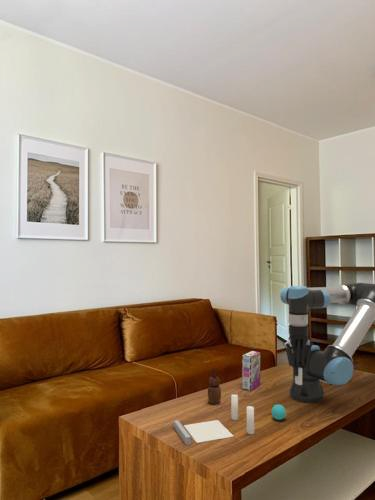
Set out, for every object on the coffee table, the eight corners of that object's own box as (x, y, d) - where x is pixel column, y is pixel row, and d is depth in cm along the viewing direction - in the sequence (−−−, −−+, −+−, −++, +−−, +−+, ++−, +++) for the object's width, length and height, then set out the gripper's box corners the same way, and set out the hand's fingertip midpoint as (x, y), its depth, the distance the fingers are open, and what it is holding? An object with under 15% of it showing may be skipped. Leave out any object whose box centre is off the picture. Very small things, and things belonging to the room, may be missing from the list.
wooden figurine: (207, 399, 166) (207, 365, 167) (220, 399, 166) (220, 365, 166) (208, 405, 159) (207, 370, 160) (221, 405, 159) (221, 370, 160)
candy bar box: (251, 391, 176) (251, 356, 177) (241, 389, 179) (241, 355, 180) (261, 384, 185) (260, 351, 186) (251, 383, 188) (251, 350, 189)
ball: (280, 415, 149) (280, 401, 149) (288, 421, 144) (288, 406, 144) (268, 417, 147) (268, 403, 148) (276, 423, 142) (276, 408, 142)
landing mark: (217, 420, 145) (217, 419, 145) (233, 436, 132) (233, 436, 132) (183, 425, 140) (183, 425, 140) (196, 443, 127) (196, 442, 127)
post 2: (251, 430, 136) (251, 405, 136) (255, 433, 134) (255, 408, 134) (245, 431, 135) (245, 406, 136) (249, 434, 133) (248, 409, 133)
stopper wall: (178, 426, 139) (177, 420, 139) (190, 444, 126) (190, 436, 126) (173, 427, 139) (173, 420, 139) (186, 445, 126) (186, 437, 126)
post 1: (236, 416, 148) (236, 393, 148) (239, 419, 146) (239, 396, 146) (230, 417, 147) (230, 394, 147) (233, 420, 145) (233, 397, 145)
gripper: (290, 327, 144) (290, 388, 143) (317, 325, 148) (318, 385, 148) (279, 324, 151) (279, 382, 150) (306, 322, 155) (306, 379, 155)
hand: (298, 383), depth 149 cm, fingers closed
